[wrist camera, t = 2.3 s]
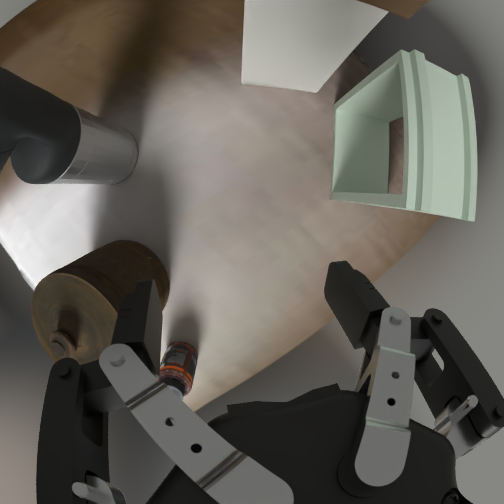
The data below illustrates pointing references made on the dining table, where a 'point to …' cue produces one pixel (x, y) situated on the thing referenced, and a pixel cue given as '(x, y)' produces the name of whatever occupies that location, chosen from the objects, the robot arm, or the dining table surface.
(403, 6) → the hook bar
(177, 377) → the supplement bottle
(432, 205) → the rest stand
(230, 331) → the dining table surface
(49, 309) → the wooden container
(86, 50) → the dining table surface
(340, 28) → the shelf stand
